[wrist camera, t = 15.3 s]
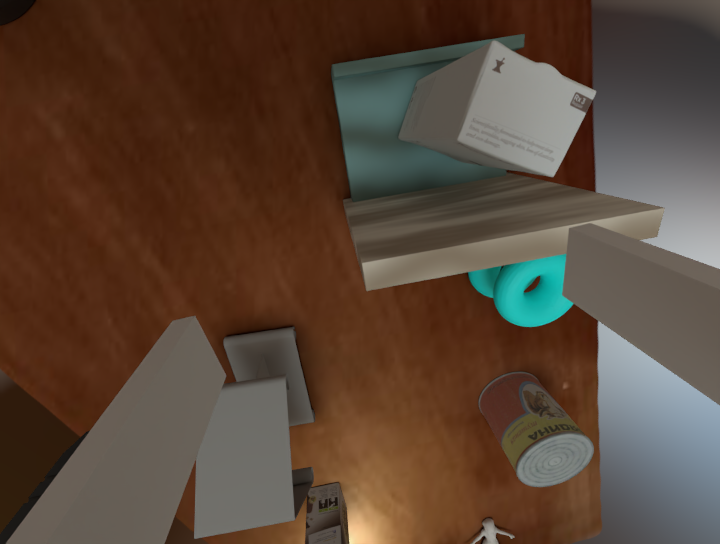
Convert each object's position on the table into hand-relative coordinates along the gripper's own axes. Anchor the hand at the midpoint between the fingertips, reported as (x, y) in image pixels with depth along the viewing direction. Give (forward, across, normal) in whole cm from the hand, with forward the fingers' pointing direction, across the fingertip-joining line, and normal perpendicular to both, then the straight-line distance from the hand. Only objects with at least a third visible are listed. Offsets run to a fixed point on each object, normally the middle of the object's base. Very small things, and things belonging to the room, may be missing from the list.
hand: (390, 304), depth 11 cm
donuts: (+28, +19, -15) cm, 37 cm away
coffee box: (+28, -16, -59) cm, 67 cm away
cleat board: (+28, +10, +3) cm, 30 cm away
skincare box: (+26, +12, +4) cm, 29 cm away
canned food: (+28, +21, -42) cm, 55 cm away
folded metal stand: (+28, -16, -27) cm, 42 cm away
